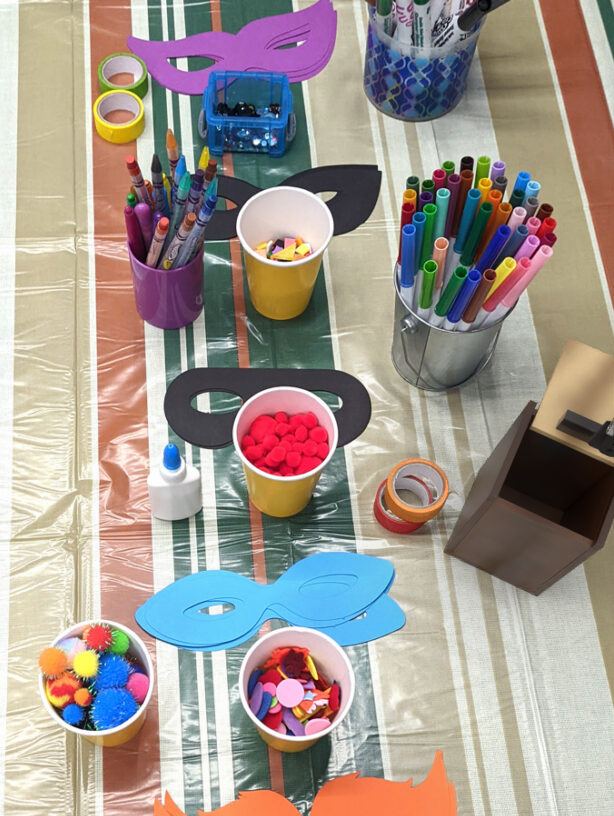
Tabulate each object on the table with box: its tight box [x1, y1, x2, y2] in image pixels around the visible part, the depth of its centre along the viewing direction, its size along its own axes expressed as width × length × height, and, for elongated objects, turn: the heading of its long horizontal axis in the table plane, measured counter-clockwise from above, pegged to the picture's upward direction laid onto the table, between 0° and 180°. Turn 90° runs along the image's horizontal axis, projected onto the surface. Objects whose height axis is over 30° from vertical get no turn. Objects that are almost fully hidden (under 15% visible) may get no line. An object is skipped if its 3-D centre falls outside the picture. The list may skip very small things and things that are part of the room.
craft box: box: [443, 399, 614, 597], centre depth 98 cm, size 12×12×19 cm
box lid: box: [530, 337, 614, 467], centre depth 92 cm, size 10×12×3 cm
